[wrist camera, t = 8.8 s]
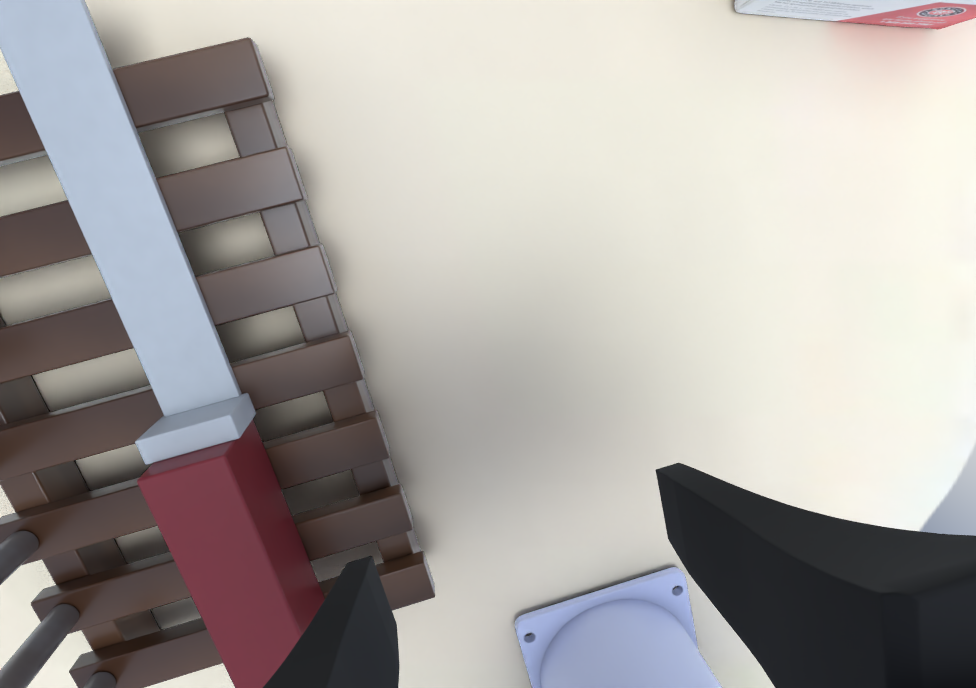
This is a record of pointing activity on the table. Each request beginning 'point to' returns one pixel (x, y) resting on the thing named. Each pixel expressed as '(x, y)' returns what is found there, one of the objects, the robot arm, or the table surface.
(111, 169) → the knife
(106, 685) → the drying rack
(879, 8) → the ink cartridge box
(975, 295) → the table surface
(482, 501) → the table surface
